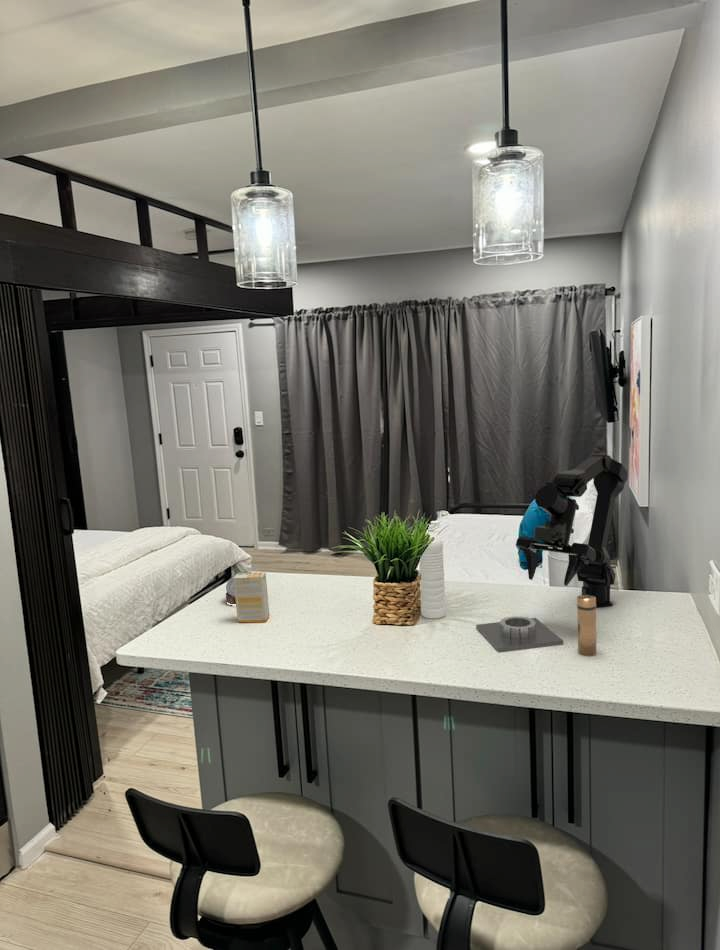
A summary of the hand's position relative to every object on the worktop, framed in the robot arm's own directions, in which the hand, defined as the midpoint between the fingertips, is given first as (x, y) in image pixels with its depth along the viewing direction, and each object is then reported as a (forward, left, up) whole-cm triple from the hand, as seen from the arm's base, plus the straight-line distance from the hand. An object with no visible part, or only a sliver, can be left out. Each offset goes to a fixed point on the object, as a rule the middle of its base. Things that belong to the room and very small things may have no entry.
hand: (547, 582), depth 169 cm
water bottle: (+22, -23, -13) cm, 35 cm away
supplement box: (+71, -34, -13) cm, 80 cm away
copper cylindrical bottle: (-4, +13, -13) cm, 19 cm away
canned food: (+74, -52, -14) cm, 92 cm away
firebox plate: (+7, -1, -13) cm, 15 cm away
